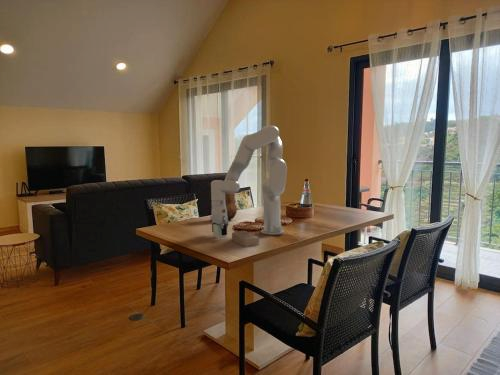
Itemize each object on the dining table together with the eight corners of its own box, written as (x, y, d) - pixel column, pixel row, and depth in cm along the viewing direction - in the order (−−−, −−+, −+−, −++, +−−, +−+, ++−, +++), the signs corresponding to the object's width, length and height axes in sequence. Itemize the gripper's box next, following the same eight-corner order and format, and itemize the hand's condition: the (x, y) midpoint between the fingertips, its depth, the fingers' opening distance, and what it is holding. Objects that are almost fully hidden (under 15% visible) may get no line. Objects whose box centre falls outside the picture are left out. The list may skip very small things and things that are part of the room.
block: (225, 236, 206) (225, 224, 205) (218, 238, 203) (217, 225, 202) (221, 235, 210) (220, 223, 209) (213, 236, 207) (212, 224, 206)
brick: (260, 245, 188) (259, 236, 188) (245, 247, 185) (244, 238, 184) (245, 238, 203) (245, 230, 203) (231, 240, 199) (231, 232, 199)
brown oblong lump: (213, 219, 253) (212, 183, 250) (229, 217, 261) (228, 181, 258) (224, 223, 242) (223, 184, 239) (241, 220, 250) (240, 182, 247)
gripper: (233, 203, 200) (233, 235, 202) (216, 200, 214) (217, 229, 216) (221, 205, 195) (222, 237, 197) (204, 201, 209) (205, 231, 211)
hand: (219, 233), depth 206 cm, fingers open, 9 cm apart
